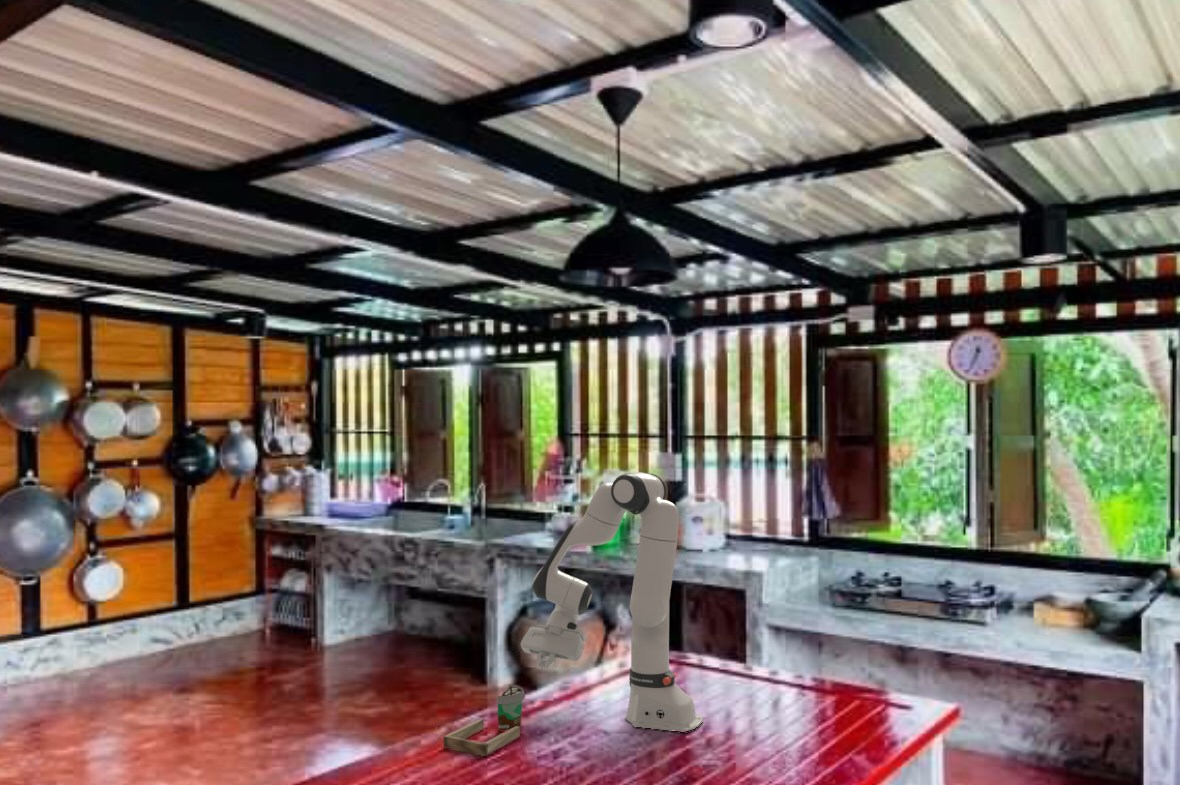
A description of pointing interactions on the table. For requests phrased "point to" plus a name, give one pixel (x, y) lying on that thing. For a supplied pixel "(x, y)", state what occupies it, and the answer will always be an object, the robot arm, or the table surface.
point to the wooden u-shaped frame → (462, 744)
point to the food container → (510, 707)
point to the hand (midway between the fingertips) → (542, 667)
